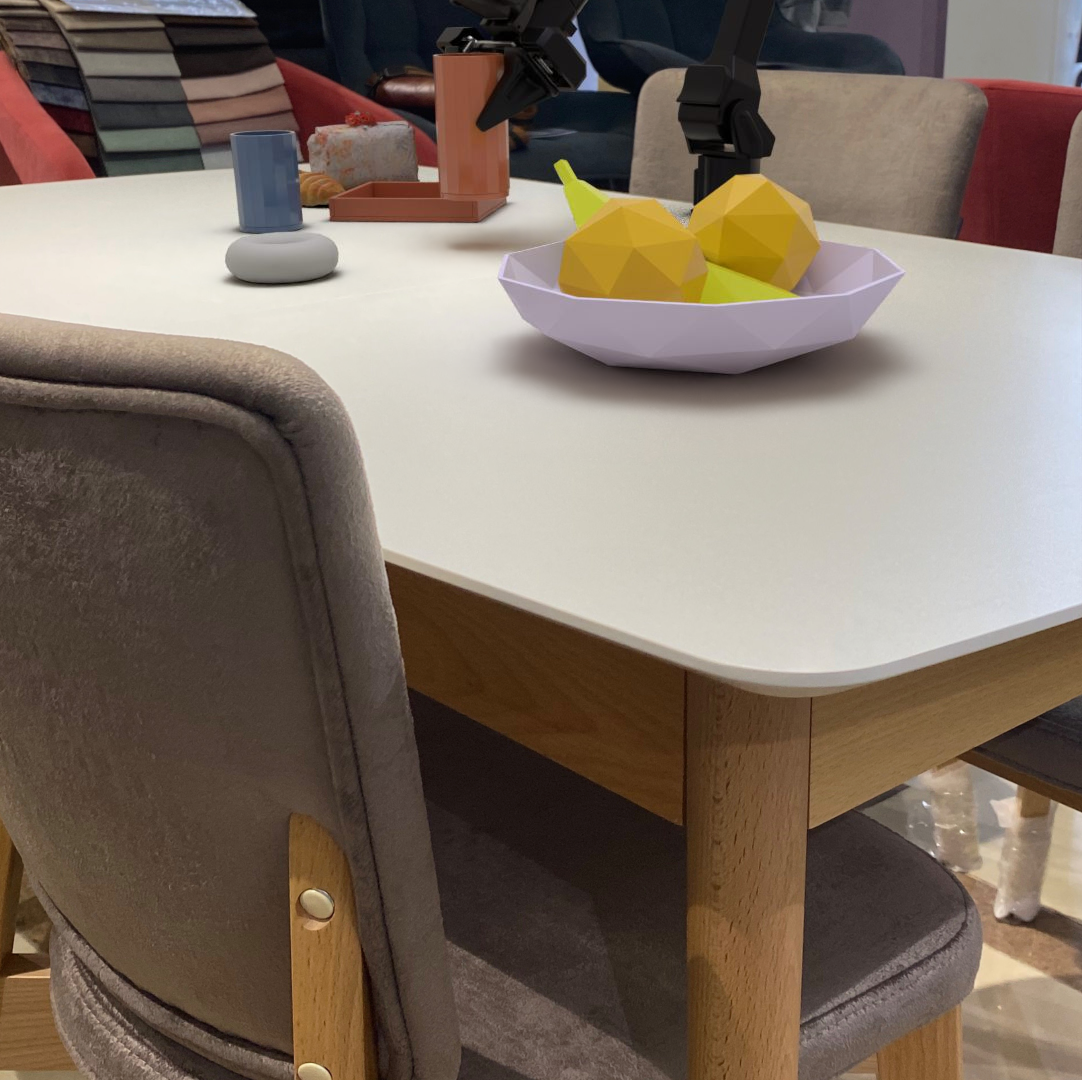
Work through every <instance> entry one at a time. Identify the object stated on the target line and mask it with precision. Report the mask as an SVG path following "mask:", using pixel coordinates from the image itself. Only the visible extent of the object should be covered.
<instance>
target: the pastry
mask: <svg viewBox="0 0 1082 1080" xmlns="http://www.w3.org/2000/svg"><path fill="white" fill-rule="evenodd" d="M299 181H300V192H301V204H302V207H303V206H305V207H314V206H318V205H323V206H326V205H329V200H328V199H329V198H331V197H333V196H336V195H338V194H341V193H343V192H345V190H344V188H343V186H342V184H341V183H339V182H338V181H337V180H336V179H333V178H331V177H330V176H329V175H327V174H323V173H321V172H318V173H317V172H311V171H307V170H302V169H299Z"/></svg>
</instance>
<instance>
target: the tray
mask: <svg viewBox="0 0 1082 1080" xmlns="http://www.w3.org/2000/svg"><path fill="white" fill-rule="evenodd" d="M507 198H508V197H505V198H501V199H495V200H485V201H454V200H447V199H443V198H441V197H440V190H439V181H420V182H368V183H365V184H363V185H360V186H358V187H355V188H353V189H350V190H348V191H345V192H343V193H341V194H338V195H336V196H333V197H331V198H329V199H328V200H329V203H328V211H329V221H330V222H405V223H407V222H409V223H410V222H411V223H416V222H418V223H419V222H421V223H423V222H424V223H426V222H427V223H479V222H480V221H482V220H484V219H485V218H487V217H488V216H489V215H491V214H492V213H494V212H495V211H497V210H498V209H500V208H501V207H503V206H504V205H506V204H507V203H508V199H507Z"/></svg>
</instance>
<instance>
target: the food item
mask: <svg viewBox="0 0 1082 1080" xmlns="http://www.w3.org/2000/svg"><path fill="white" fill-rule="evenodd" d="M344 118H345V119H344V123H342V124H330V125H324V126H316V127H315V129H314V130H315V131H314V132H315V133H313V134H311V135H310V136H309V137H308V139H307V141H306V146H307V151H308V158H309V159H308V162H309V167H310V172H317V173H318V172H321V173H323V174H327V175H329V176H330V177H331V178H333V179H336V180H337V181H338V182H339V183H341V184H342V186H343V188H344V190H345V191H348V190H350V189H353V188H355V187H358V186H360V185H363V184H365V183H368V182H421V179H419V163H418V162H419V161H418V155H417V142H416V138H415V137H416V136H415V135H416V129H415V127H414V126H412V125H411V124H409V122H408V121H407V120H394V121H377V120H376V119H377V118H376V116H374V115H373V114H372V113H370V112H369V111H366V113H361V112H360V111H358V110H356V111H355V112H350V114H347V115H346V116H344Z"/></svg>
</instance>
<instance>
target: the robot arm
mask: <svg viewBox="0 0 1082 1080" xmlns="http://www.w3.org/2000/svg"><path fill="white" fill-rule="evenodd" d="M588 1H589V0H449V3H450V4H451V5H454V6H455V7H457V8H460V7H461V8H463V9H465V10H467V11H468V12H470V13H472V14H474V15H476V16H478V17H480V18H482V20H481V21H480V23H479V26H480V27H481V28H482V29H483V31H484V32H485V33H486V34H490V36H491V38H490V40H486V38H485V37H484V36H483V34H481V33H480V31H479V30H478V28H476V26H473V27H472V26H469V27H467V26H465V27H464V26H463V27H461V26H460V27H459V26H458V27H457V26H456V27H446V28H445V29H444V31H443V32H442V33H441V35H440V36H439V38H438V39H437V40H436V42H435V44H436V47H437V48H438V49H439V50H440V52H442V54H449V53H504V72H503V75H502V77H501V78H500V80H499V82H498V83H497V85H496V87H495V89H494V90H493V92H492V94H491V96H490V97H489V99H488V101H487V103H486V104H485V106H484V108H483V109H482V111H481V113H480V115H479V117H478V119H477V121H476V126H477V127H478V128H479V129H480V131H482V132H485V131H487V130H489V129H491V128H493V127H494V126H496V125H498V124H500V123H502V122H504V121H505V120H507V119H508V120H509V119H511V118H512V117H514V116H515V117H516V116H517V115H518V114H520V113H522V112H524V111H525V110H526V111H527V110H528V109H530V108H532V107H534V106H536V105H538V104H540V103H542V102H544V101H546V100H548V99H550V98H556V97H557V96H558V95H559V94H560V92H572V93H577V91H578V89H579V88H580V87H581V86H582V84H583V82H584V81H585V80H586V79H587V76H588V73H587V71H588V69H587V68H588V67H587V64H588V63H587V60H586V59H585V58H584V57H583V55H582V54H581V53H580V52H579V51H578V49H577V47H575V45H574V44H573V42H572V41H571V40H570V39H569V38H573V36H574V35H575V33H576V32H577V31H578V28H577V26H576V25H575V23H573V22H574V20H575V19H576V17H577V16H578V15H579V13H580V12H581V11H582V9H583V8H584V6H586V4H587V2H588ZM775 2H776V0H727V1H726V4H725V7H724V11H723V15H722V18H721V21H720V25H719V28H718V32H717V35H716V39H715V42H714V45H713V48H712V52H711V54H710V55H709V56H708V57H707V59H706V60H705V61H704V62H703V63H702V64H689V65H688V67H687V68H686V71H685V73H684V77H683V78H684V79H683V85H682V88H681V91H680V93H679V95H678V96H677V98H676V100H675V101H676V103H679V106H678V111H677V121H678V123H680V127H681V131H682V132H683V134H684V135H683V136H684V139H685V143H686V146H687V151H688V153H689V154H690V155H697V167H696V168H694V170H693V188H692V189H693V190H692V205H693V207H692V208H690V214H692V212H693V209H694V206H695V205H697V204H698V203H699V202H701V201H702V200H703V199H705V198H706V197H707V196H709V195H710V194H711V193H713V192H714V191H715V190H717V189H718V188H719V187H721V186H722V185H723V184H725V183H726V182H727V181H729V180H730V179H731V178H732V177H734V176H735V175H746V174H761V160H762V159H763V158H770V157H772V154H773V150H774V146H775V143H776V135H775V134H774V133H773V132H772V130H771V129H770V127H769V126H768V124H767V123H766V122H765V120H764V119H763V117H762V116H761V115H760V113H759V109H760V103H761V97H762V88H761V84H760V79H759V73H758V69H757V64H758V61H759V56H760V53H761V49H762V46H763V43H764V39H765V36H766V33H767V29H768V27H769V23H770V20H771V16H772V13H773V10H774V7H775Z"/></svg>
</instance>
